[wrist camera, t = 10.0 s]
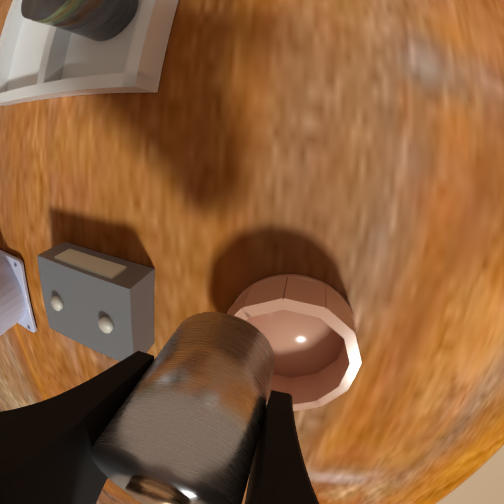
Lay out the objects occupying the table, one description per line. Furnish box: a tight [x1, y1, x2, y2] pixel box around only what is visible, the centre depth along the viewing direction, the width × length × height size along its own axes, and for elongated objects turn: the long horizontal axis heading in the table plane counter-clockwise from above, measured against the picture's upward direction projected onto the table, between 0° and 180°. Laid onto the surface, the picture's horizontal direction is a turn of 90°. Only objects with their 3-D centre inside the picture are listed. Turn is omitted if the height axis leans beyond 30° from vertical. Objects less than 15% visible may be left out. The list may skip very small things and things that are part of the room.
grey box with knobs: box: [37, 242, 155, 361], centre depth 18 cm, size 8×6×3 cm
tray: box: [0, 0, 179, 106], centre depth 12 cm, size 16×11×2 cm
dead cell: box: [91, 312, 275, 504], centre depth 8 cm, size 4×4×6 cm
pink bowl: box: [227, 274, 361, 411], centre depth 16 cm, size 8×8×3 cm
